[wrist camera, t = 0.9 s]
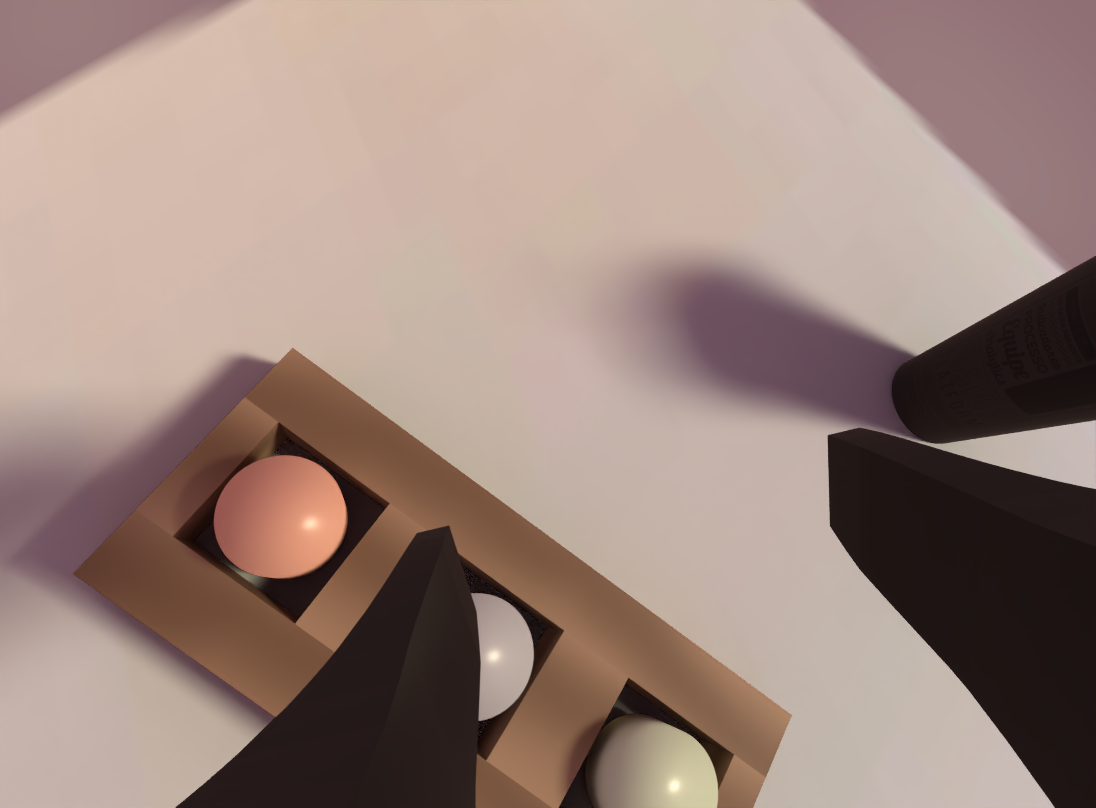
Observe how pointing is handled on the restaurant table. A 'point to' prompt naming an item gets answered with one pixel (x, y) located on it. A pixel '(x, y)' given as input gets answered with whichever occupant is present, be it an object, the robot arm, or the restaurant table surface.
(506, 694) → the grey button
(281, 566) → the terracotta button
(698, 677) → the panel
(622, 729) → the sage button
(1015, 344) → the drinking cup
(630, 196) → the restaurant table surface
